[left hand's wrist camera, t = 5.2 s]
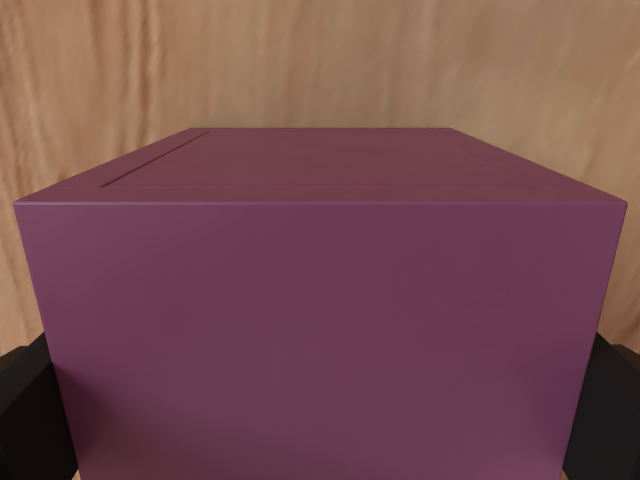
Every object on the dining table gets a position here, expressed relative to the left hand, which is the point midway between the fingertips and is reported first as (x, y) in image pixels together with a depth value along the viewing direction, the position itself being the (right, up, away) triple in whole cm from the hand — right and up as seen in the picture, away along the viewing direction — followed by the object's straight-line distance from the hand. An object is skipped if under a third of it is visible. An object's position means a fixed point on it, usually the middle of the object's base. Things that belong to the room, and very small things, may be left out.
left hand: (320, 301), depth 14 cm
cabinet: (0, -1, +7) cm, 7 cm away
